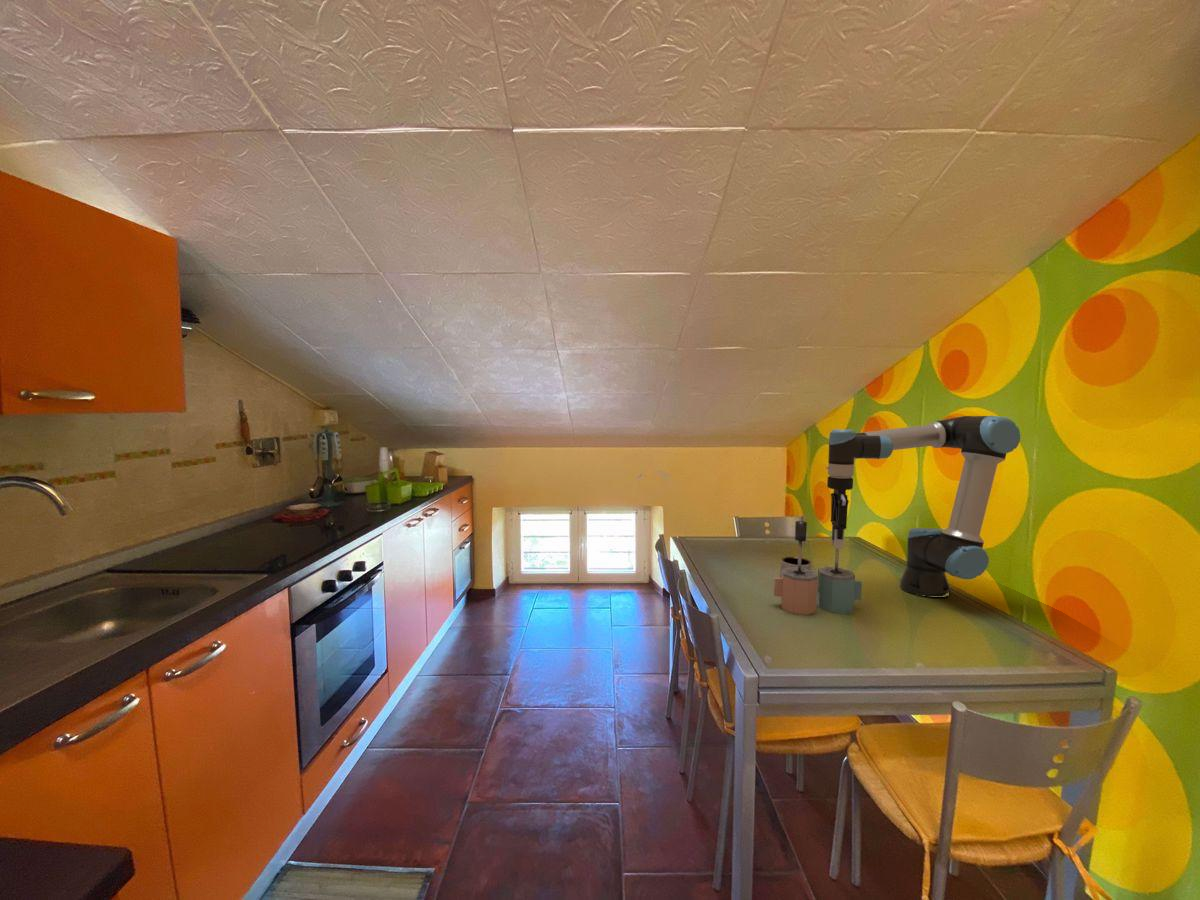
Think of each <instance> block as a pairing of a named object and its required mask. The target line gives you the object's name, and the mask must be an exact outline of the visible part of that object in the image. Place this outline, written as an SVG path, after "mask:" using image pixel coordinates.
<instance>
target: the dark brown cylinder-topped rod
mask: <svg viewBox="0 0 1200 900" xmlns="http://www.w3.org/2000/svg"><path fill="white" fill-rule="evenodd" d="M833 527H836V521H833V525H831V541H832V540H834V535H835V529H833ZM839 553H840V549H835V552H834V567H835V574H838V568H839V559H840V558H839V556H840V555H839Z"/></svg>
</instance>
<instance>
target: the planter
mask: <svg viewBox="0 0 1200 900" xmlns="http://www.w3.org/2000/svg"><path fill="white" fill-rule="evenodd" d="M812 563H813V562H812V561H811V560H809V559H808V558H805V557H804V558H803V557H802V558H801V568H805V569H808V570H811V571H813V570H812V567H813V564H812ZM789 567H794V568H798V556H785V557H782V558H781V559H780V574H779V578H782V569H785V568H789Z"/></svg>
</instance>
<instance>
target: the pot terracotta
mask: <svg viewBox="0 0 1200 900" xmlns="http://www.w3.org/2000/svg"><path fill="white" fill-rule="evenodd" d="M817 585H818V573H816V572H815V571H814V570H808V569H805V568H801V575H799V574H798V568H794V567H789V568H785V569H782V578H780V577H776V576H774V583H773V596H774V597H779V598H780V605H781V609H782V610H785V611H786V612H789V613H791V614H794V615H795V614H796V615H804V616H807V615H808V616H809V615H811V614H815V613H816V612H817Z"/></svg>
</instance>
